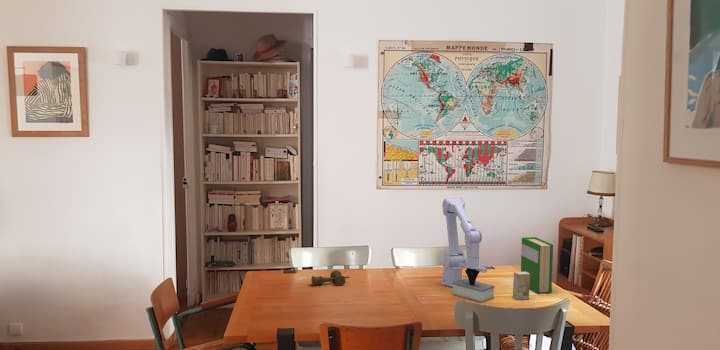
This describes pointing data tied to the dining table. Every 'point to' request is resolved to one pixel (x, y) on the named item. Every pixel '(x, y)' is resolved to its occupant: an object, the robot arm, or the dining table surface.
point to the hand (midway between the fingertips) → (472, 284)
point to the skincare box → (521, 285)
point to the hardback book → (537, 263)
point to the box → (473, 293)
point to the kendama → (330, 279)
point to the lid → (477, 286)
